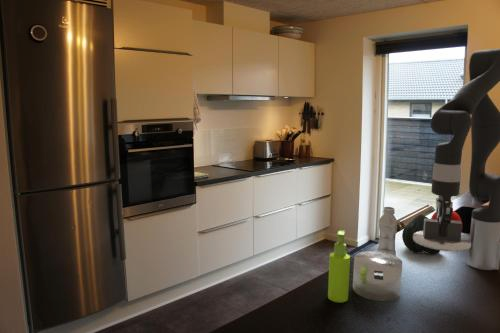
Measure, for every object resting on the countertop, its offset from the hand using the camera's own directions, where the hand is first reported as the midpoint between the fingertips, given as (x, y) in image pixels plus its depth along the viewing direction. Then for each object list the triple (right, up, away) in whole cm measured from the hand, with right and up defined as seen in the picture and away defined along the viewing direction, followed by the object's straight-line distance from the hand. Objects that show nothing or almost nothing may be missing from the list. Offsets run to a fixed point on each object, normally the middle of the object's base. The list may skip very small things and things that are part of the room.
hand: (441, 234), depth 125 cm
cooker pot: (-19, -18, +3) cm, 26 cm away
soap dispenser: (-32, -18, -2) cm, 37 cm away
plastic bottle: (-8, -14, +26) cm, 31 cm away
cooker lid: (0, -2, 0) cm, 2 cm away
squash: (+9, -13, +37) cm, 40 cm away
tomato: (+24, -11, +50) cm, 57 cm away
